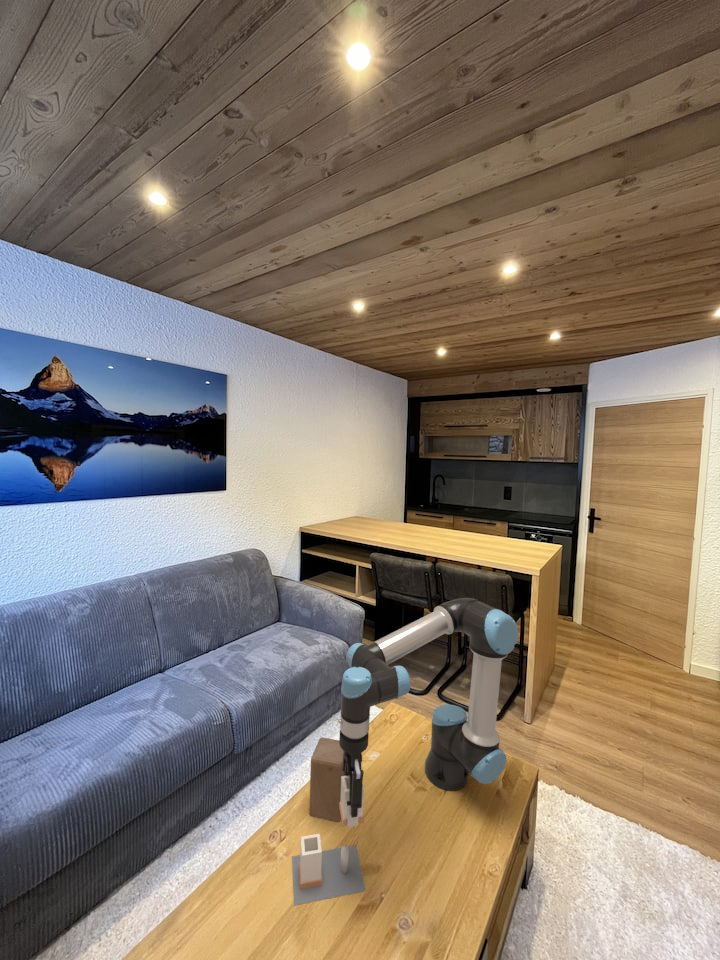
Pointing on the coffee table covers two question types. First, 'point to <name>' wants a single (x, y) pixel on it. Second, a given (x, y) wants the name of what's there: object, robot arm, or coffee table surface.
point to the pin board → (331, 876)
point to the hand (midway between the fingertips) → (350, 813)
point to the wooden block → (326, 780)
